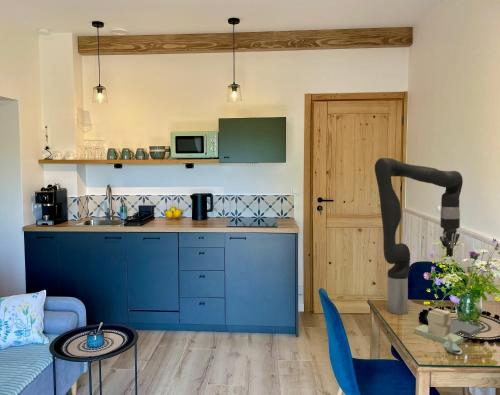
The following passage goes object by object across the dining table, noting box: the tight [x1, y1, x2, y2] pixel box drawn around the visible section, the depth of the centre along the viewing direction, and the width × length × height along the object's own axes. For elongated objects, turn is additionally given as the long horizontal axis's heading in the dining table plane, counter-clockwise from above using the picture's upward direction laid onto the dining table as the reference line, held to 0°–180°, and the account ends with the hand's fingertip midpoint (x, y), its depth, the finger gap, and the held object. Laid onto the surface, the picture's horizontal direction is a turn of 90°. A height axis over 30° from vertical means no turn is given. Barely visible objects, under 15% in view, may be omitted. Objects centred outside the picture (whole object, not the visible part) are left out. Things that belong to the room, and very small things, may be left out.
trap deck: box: [414, 318, 482, 346], centre depth 170 cm, size 22×17×2 cm
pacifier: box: [443, 335, 464, 356], centre depth 153 cm, size 7×6×6 cm
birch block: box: [427, 307, 451, 338], centre depth 165 cm, size 6×6×9 cm
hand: (449, 256), depth 176 cm, fingers closed
